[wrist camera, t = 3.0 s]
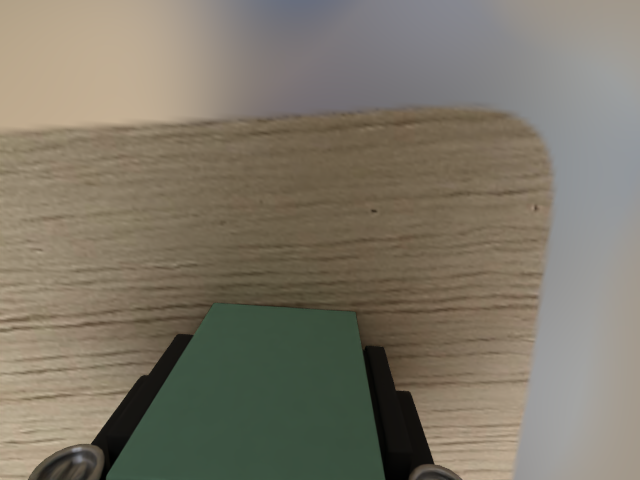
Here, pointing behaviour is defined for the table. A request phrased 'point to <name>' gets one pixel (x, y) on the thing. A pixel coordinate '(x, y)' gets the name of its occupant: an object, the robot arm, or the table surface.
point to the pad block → (261, 402)
